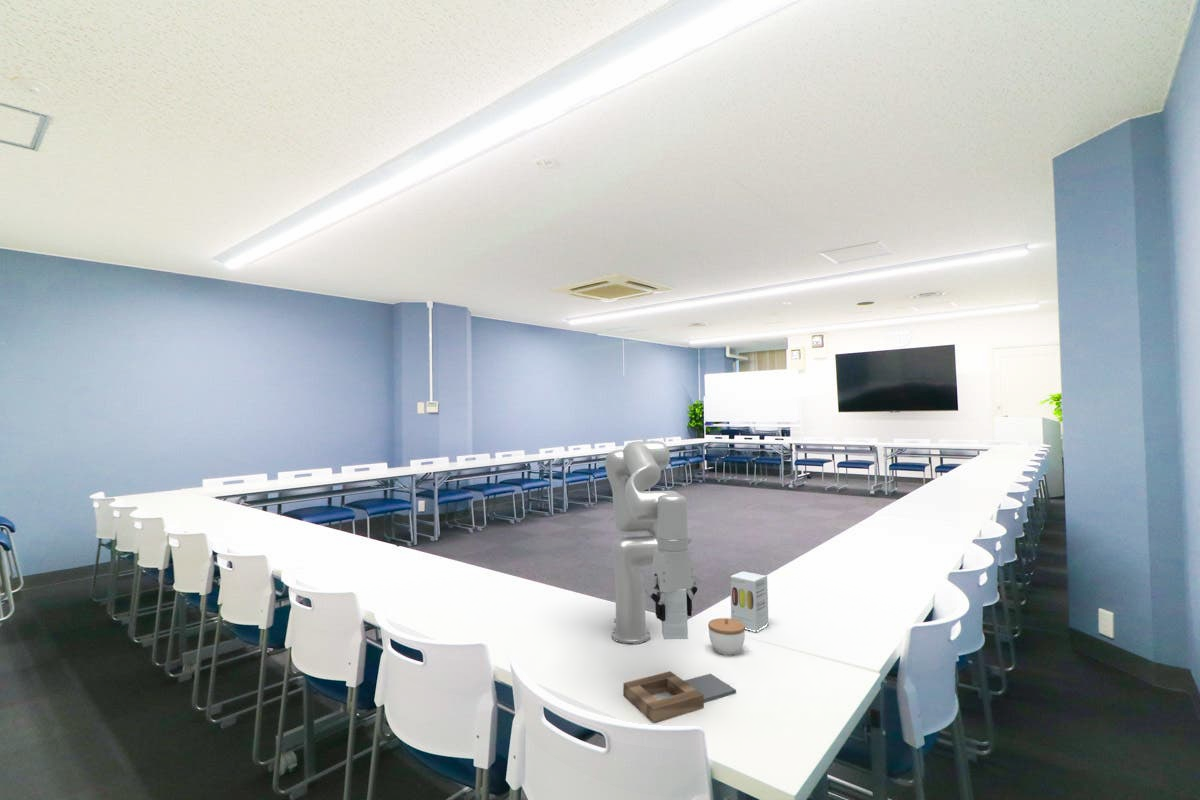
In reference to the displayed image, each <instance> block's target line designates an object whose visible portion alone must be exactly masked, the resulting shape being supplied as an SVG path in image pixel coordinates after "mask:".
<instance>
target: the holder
mask: <svg viewBox="0 0 1200 800" xmlns="http://www.w3.org/2000/svg"><path fill="white" fill-rule="evenodd" d="M622 691H623V697H625V699H626V700H627V701H629V703H631V704H632V705H633V706H634V707H635V708H636V709H637V710H639V711H640V712H641V713H642V714H643V715H644V716H645V717H646V718H647V719H649V720H650V721H651V722H652V723H653V724H655V723H656V724H657V723H659V722H662V721H666V720H669V719H671V718H675V717H679V716H682V715H685V714H688V713H692V712H697V711H699V710H702V709H704V708H705V702H704V695H703V694H702V693H700V692H699V691H698V690H696V689H695V688H693V687H692V686H691V685H689V684H688V683H686V682H685V681H684V679H682V678H681V677H679V676H678V675H676V674H675V673H674V672H672V671H671V670H669V671H666V672H661V673H658V674H657V673H656V674H654V675H649V676H645V677H643V678H638V679H634V680H633V679H632V680H630V681H626V682H623V690H622ZM665 692H669V693H670V694H671V695H670V696H667V697H664V698H661V699H657V698H656V697H654V695H657V694H660V693H665Z"/></svg>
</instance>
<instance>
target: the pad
mask: <svg viewBox="0 0 1200 800" xmlns="http://www.w3.org/2000/svg"><path fill="white" fill-rule="evenodd" d="M683 681H685V682H686V683H688V684H689V685H691V686H692V687H693V688H695V689H696V690H698V691H699V692H700V693H702V694H703V695H704V703H706V702H711V701H713V700H717V699H720V698H724V697H727V696H731V695H735V694H736V693H737V689H736V688H734V687H732V686H731V685H729V684H728V683H726V682H725V681H723V680H721V679H720V678H718V677H717V676H715V674H714V675H713V674H712V673H708V674H707V673H706V674H704V675H701V676H696V677H692V678H689V679H685V680H684V679H683Z"/></svg>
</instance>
